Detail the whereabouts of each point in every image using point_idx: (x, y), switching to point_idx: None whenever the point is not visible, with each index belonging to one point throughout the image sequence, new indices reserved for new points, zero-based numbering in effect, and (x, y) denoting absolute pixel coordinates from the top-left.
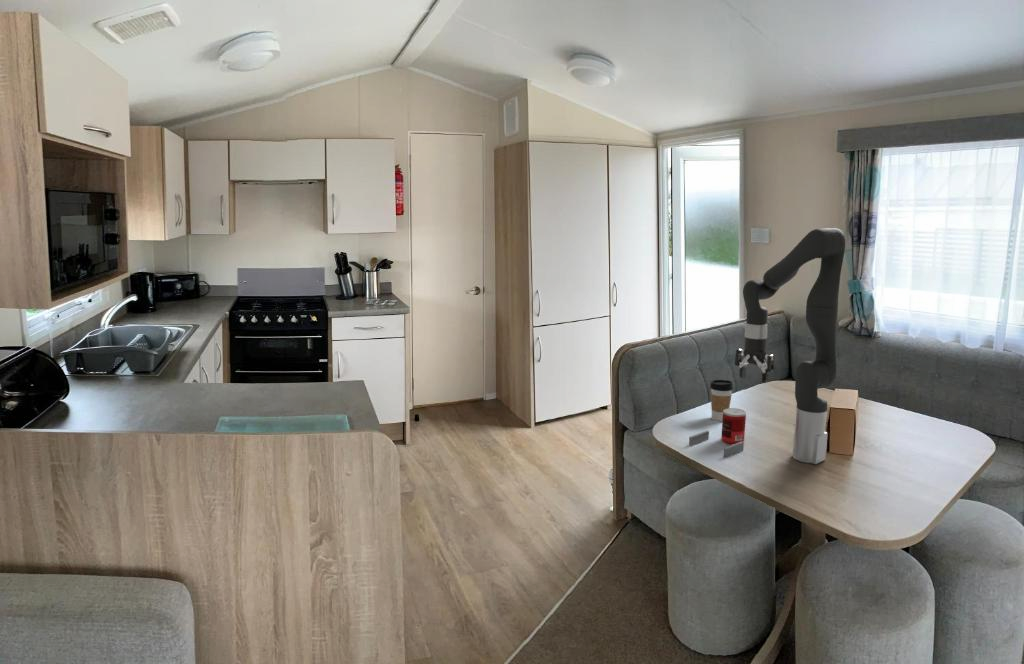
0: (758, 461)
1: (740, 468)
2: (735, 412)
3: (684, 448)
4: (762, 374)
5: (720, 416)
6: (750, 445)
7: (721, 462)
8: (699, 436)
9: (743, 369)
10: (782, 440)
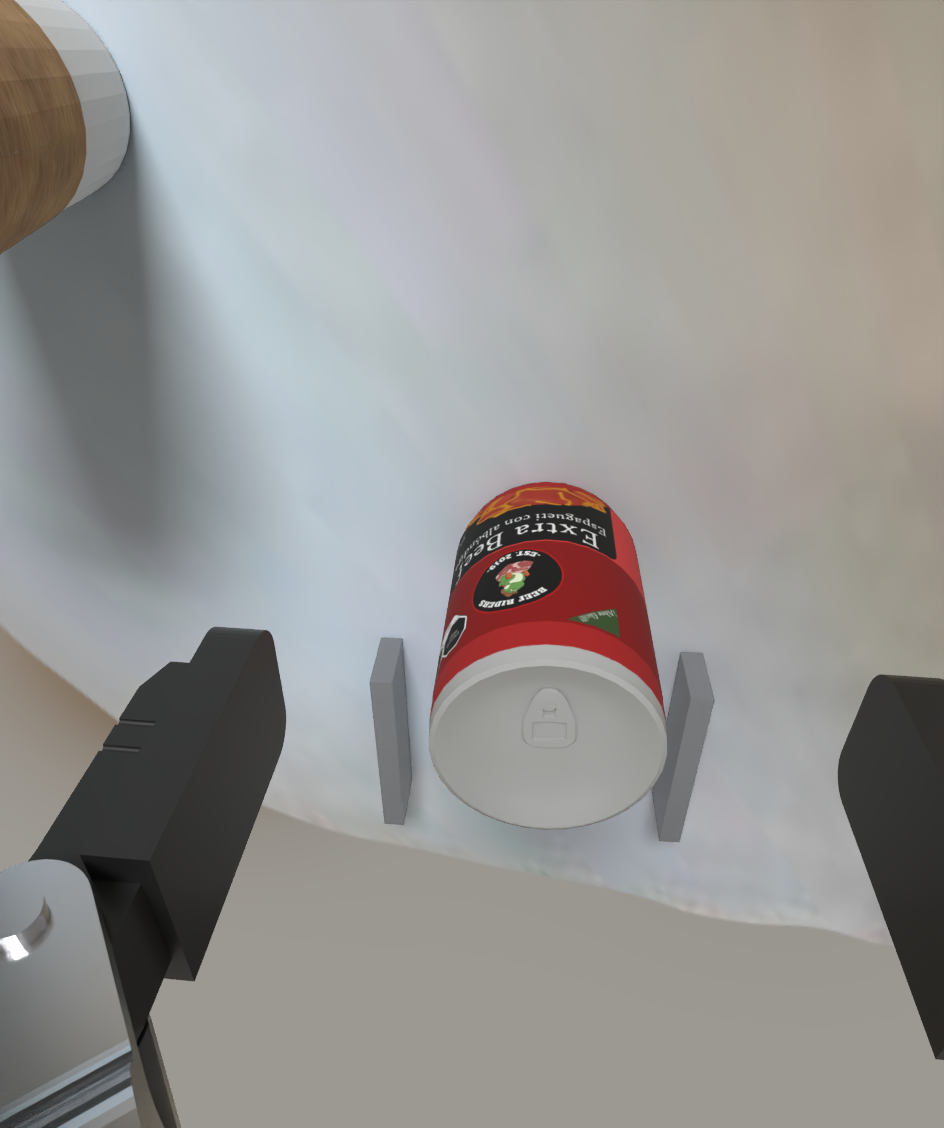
0: None
1: (806, 849)
2: (558, 745)
3: (413, 819)
4: (936, 1010)
5: (89, 192)
6: (700, 541)
7: (682, 845)
8: (400, 756)
9: (194, 918)
10: (912, 209)
